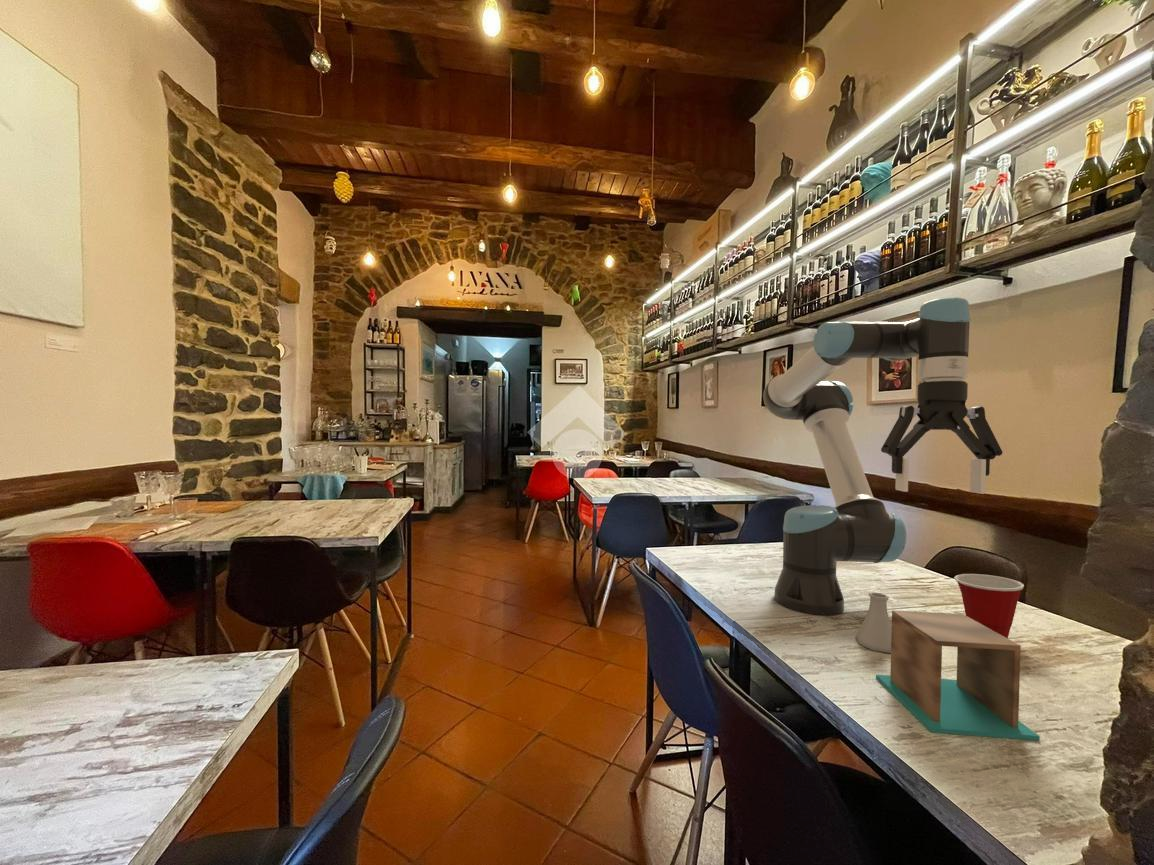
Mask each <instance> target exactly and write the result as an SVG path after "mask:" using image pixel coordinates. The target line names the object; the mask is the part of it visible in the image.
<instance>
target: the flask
mask: <svg viewBox="0 0 1154 865" xmlns="http://www.w3.org/2000/svg"><path fill="white" fill-rule="evenodd" d="M868 596H869V598H870V599H869V607H868V609H867V613H866V615H865V617H864V619H863V622H862V623H861V625H860V627H859V630H858V631H857V633H856V635H855V639H856V641H857V643H858V644H860V645H862V646H863V647H865V648H867V649H868V650H871V651H875V652H883V653H887V654H889V653H890V654H891V634H892V622H891V621H890V618H889V613H888V607H887V605H888V604H887V602H888V601H889V599H890V598H889V596H888V595H887V594H884V593H882V592H875V591H872V592H871V591H870V592H868Z"/></svg>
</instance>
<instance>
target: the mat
mask: <svg viewBox="0 0 1154 865" xmlns="http://www.w3.org/2000/svg"><path fill="white" fill-rule="evenodd" d="M875 679H876V680H877V681H878V682H879V683H880V684H881V685H882V686H883V687H884V688H886V689H887V691H888V692H889V693H890V694H892V696H893V697H895V699H896V700H898V702H900V704H901V705H902V706H904V708H906V709H907V711H909V712H910V714H912V715H913V716H914V718H915V719H917V720H918V721H919V723H921V725H923V726H924V727H925V729H927V730H928V731H929V732H930V733H934V734H936V733H937V734H949V735H963V736H976V737H977V736H978V737H986V738H987V737H990V738H1000V739H1002V738H1003V739H1012V740H1013V739H1015V740H1026V741H1029V740H1030V741H1040V738H1041V736H1040V735H1038V734H1037V733H1036V732H1034V730H1032V729H1031V728H1029V727H1028V726H1026V725H1025V724H1024V723H1022V722H1021V721H1020V720H1018V728H1013V727H1011V726H1010V725H1009V724H1007V723H1006V722H1005V721H1004V720H1002V719H1001V718H1000V717H998V716H997V715H996V714H994V713H993V712H992V711H991V710H989V709H988V708H987V707H985V706H984V705H983V704H981V703H980V702H979V701H978V700H976V699H975V698H974V697H972V696H971V695H970V694H968V693H967V692H966V691H965V690H963V689H962V688H961V687H959V686H958V685H957V679H948V678H941V705H940V722H934V721H933V720H932V719H931V718H930V717H929V716H928V715H927V714H926V713H925V712H924V711H923V710H922V709H921V708H920V707H919V706H917V705H916V704H915V703H914V702H913V701H912V700H911V699H910V698H909V697H908V696H907V695H906V694H905V693H904V692H903V691H902V690H901V689H899V688H898V687H897V686H896V685H895V684H894V683H893V682H892V681H891V680H890V674H889V675H886V674H875Z"/></svg>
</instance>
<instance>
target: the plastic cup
mask: <svg viewBox="0 0 1154 865" xmlns="http://www.w3.org/2000/svg"><path fill="white" fill-rule="evenodd" d="M953 579H954V580H955V581H956V582H957V585H958V587H959V591H960V593H961V598H962V604H963V607H964V615H966V616H967V617H969V618H971V619H973V620H975V621H976V622H978V623H980V624H982V625H984V626H986V627H987V628H989V629H991V630H993V631H995V632H997V633H998V634H1000V635H1002V636H1004V637H1006V638H1007V639H1009V635H1010V631H1011V628H1012V626H1013V622H1014V618H1015V615H1016V609H1017V605H1018V602H1019V598H1020V595H1021V592H1022V590H1024V587H1025V585H1024V583H1022V582H1021V581H1018V580H1015V579H1012V578H1007V577H1003V576H998V575H990V574H979V573H962V574H957V575H955V576H954V577H953Z"/></svg>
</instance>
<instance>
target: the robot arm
mask: <svg viewBox="0 0 1154 865" xmlns="http://www.w3.org/2000/svg"><path fill="white" fill-rule="evenodd" d="M969 303H970V302H969V301H968V300H967V299H965V298H961V297H943V298H936V299H932V300H928V301H925V302H924V303H922V304H921V306H920V307H919V312H918V318H915V319H912V320H909V321H902V322H899V321H898V322H895V321H893V322H892V321H891V322H890V321H889V322H888V321H874V322H873V321H870V322H869V321H845V320H844V321H843V320H839V321H829V322H827V321H826V322H823V323H821V324H820V325H819V326H818V328H817V329H816V333H814V337H813V341H812V342H813V346H812V347H811V348H810V349H809V350H808V351H807V352H806V353H804V355H803V356H801V357H799V359H798V360H797V361H796V362H795V363H794V364H793V365H792V366H790V367H789V368H788V369H787V370H786V371H785V372H784V373H783V374H779V375H776V376H774V377H773V378H772V379H771V380H770V381H769V382H768V383H767V384H766V386H765V387H764V389H763V394H762V398H763V402H764V405H765V408H766V409H767V410H768V411H769V412H770V413H771V414H772V415H773V416H775V417H777V418H779V419H782V420H790V421H791V420H792V421H802V422H803V425H804V428H805V430H807V431H808V432H810V433H812V435H813V438H814V440H815V443H816V444H815V445H816V446H817V450H818V453H819V456H820V459H821V463H822V465H823V469H824V471H825V472H824V473H825V475H826V478H827V481H828V484H829V488H830V490H831V493H832V496H833V499H834V500H833V501H834V503H835V505H834V506H831V505H816V504H812V505H811V504H810V505H801V506H795V507H792V508H789V509H787V511H785V514H784V518H783V525H782V530H783V532H782V533H783V534H782V536H783V540H782V541H783V542H782V543H783V544H782V547H783V548H782V557H783V558H782V569H781V572H780V575H779V577H778V579H777V582H776V584H775V588H774V600H775V601H776V602H777V603H778V604H780V605H781V606H783V607H785V608H788V609H791V610H794V611H796V612H801V613H805V614H811V615H821V616H831V615H832V616H833V615H837V614H841V613H842V612H843V611H844V610H845V600H844V596H843V595H844V594H843V591H842V590H841V586H840V583H839V581H838V577H837V562H849V563H855V562H856V563H874V564H879V563H890V562H891V563H892V562H894V561H897V560H898V559H899V558H900V557H901V556H902V555H903V553H904V551H905V547H906V544H907V528H906V525H905V523H904V520H903V519H902V518H901V517H900V516H899V515H897V514H895V513H893V512H887V509H886V507H885V504H884V502H883V501H882V500H881V499H878V498H876V497H874V495H873V493H872V490H871V487H870V484H869V482H868V479H867V476H866V474H865V471H864V469H863V466H862V462H861V460H860V458H859V456H858V453H857V450H856V447H855V445H854V442H853V439H852V436H851V434H850V432H849V428H848V425H847V423H848V421H849V420H850V416H851V414H852V413H853V410H854V404H853V402H854V399H853V394H852V391H851V390H850V388H849V387H848V386H847V385H846V384H844V383H843V382H841V381H838V380H837V381H836V380H829V379H827V380H825V379H826V378H828V377H829V376H830V375H832V374H834V372H836V371H837V370H839V369H840V368H841V367H842V366H844V365H845V364H847V363H849V361H851V360H852V359H862V358H863V359H883V360H885V361H889V362H895V361H896V362H897V361H906V360H907V359H911V358H915V357H918V358H917V359H918V365H917V366H918V367H917V380H918V381H921V382H919V383H918V384H917V394H916V395H917V398H916V400H917V402H918V406H916V407H915V406H913V405H902V406H901V407H900V408H899V413H898V418H897V420H896V422H895V423H894V425H893V427H892V428H891V430H890V432H889V434H888V436H887V437H886V440H885V441H884V443H883V445H882V447H881V448H880V451H881V453H884V454H887V455H888V456H891V473H893V474H895V489H894V490H896V491H901V492H906V493H907V492H909V469H910V468H909V465H910V462H909V460H910V458H909V457H905V455H906V454H907V453H908V452H909V451H911V449H912V448H913V447H914V446H915V445H916V443H917V442H919V441H920V440H921V438H923V436H924V435H925V434H926V433H927V432H929V431H931V430H940V431H941V430H942V431H944V430H945V431H951V432H953V433H955V434H956V436H957V437H958V438H959V439H960V440H961V441H962V442H963V444H964V445H965V446H966V447H967V449H969V451H970V452H971V453H972V454H973V455H974V456H975V457H976V458H973V457H971V458H970V474H969V476H970V477H969V480H970V481H969V482H970V483H969V492H970V493H975V494H978V495H979V494H981V495H984V494H985V495H986V477H988V476H989V475H990V470H991V468H990V467H991V464H990V463H991V460H994V459H995V458H996V457H997V456H998V457H999V456H1000V457H1001V456H1002V455H1003V450H1002V448H1001V446H1000V444H999V442H998V440H997V438H996V436H995V434H994V432H993V430H992V427H991V426H990V424H989V423H988V420H987V419H986V418H987V417H986V411H985V407H983V406H971V407H966V406H967V405H966V403H967V400H968V393H969V392H968V388H969V387H968V386H969V383H967V381H964V380H966V379H968V377H969V351H970V350H969V346H970V344H969V343H970V326H971V325H970V324H971V317H970V304H969ZM916 416H917V417H918V421H917V422H916V423H915V424H914V425H913V426H912V428H911V429H910V431H909V432H908V433H907V434H906V432H907V430H908V429H909V426H910V424H911V423H912V421H913V418H915V417H916ZM965 418H967V419H968V420H969V422H970V424H971V427H972V428H973V431H974V432H973V431H972V430H971V428H970V426H969V424H968V423H967V422H966V421H965Z"/></svg>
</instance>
